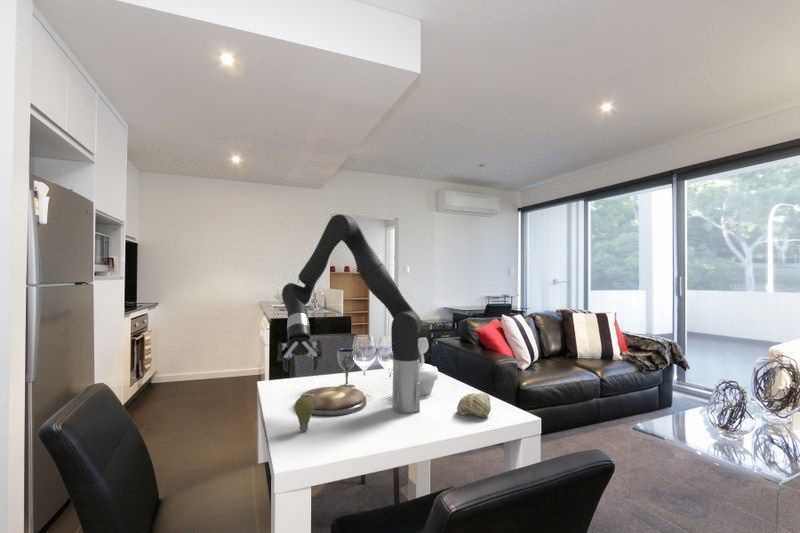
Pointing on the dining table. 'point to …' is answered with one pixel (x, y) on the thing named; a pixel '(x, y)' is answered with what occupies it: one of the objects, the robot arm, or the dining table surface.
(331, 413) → the turntable base
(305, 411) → the light bulb
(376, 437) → the dining table surface
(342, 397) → the turntable platter
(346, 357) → the wine glass
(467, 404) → the seashell
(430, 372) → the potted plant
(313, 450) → the dining table surface
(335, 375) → the dining table surface
